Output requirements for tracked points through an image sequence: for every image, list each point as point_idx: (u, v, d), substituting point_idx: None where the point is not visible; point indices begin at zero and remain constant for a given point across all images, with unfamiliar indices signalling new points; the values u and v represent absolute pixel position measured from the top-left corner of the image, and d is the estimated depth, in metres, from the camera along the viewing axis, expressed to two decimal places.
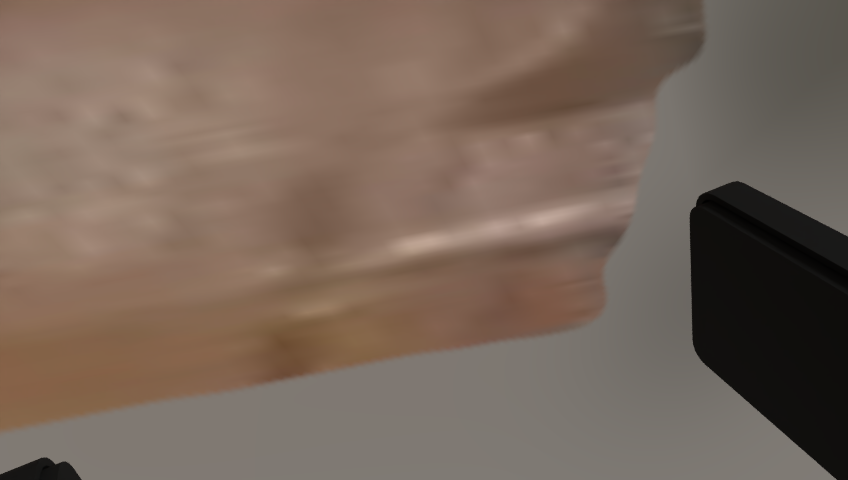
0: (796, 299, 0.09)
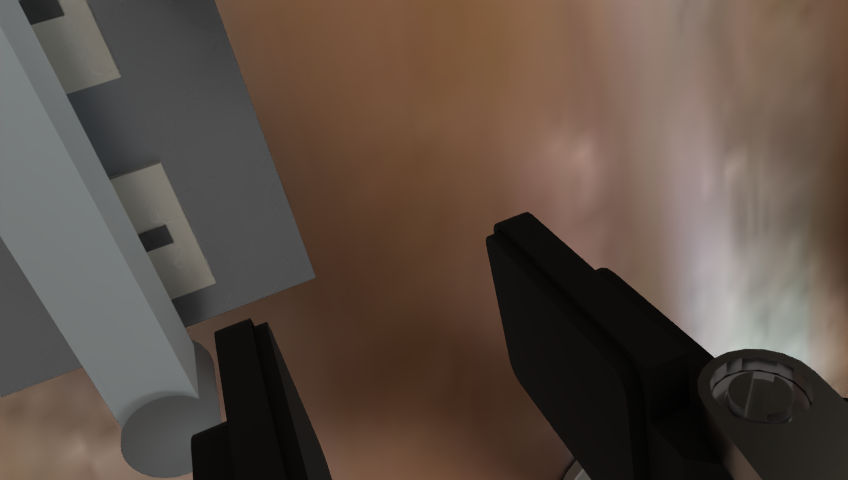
0: (551, 327, 0.09)
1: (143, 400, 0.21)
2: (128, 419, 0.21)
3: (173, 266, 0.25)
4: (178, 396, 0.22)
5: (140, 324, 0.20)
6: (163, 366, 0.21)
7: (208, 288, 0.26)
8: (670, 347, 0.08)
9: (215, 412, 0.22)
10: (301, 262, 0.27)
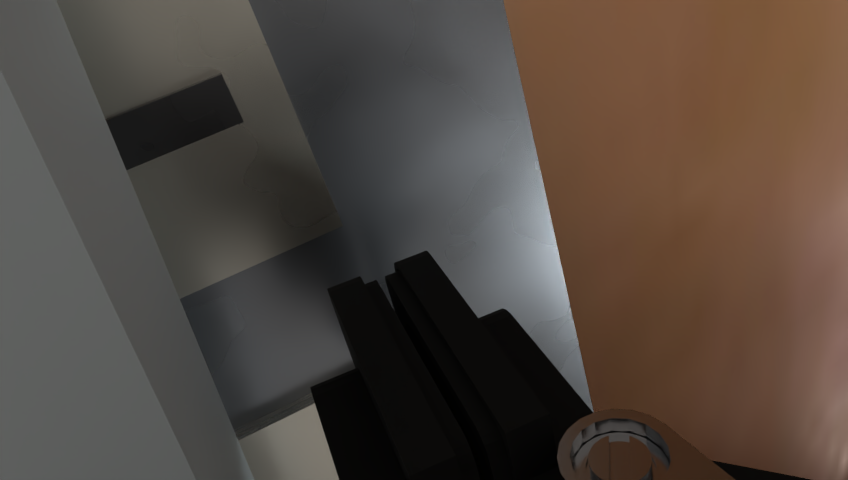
0: (436, 376, 0.09)
1: None
2: None
3: None
4: None
5: None
6: None
7: None
8: (534, 407, 0.07)
9: None
10: None
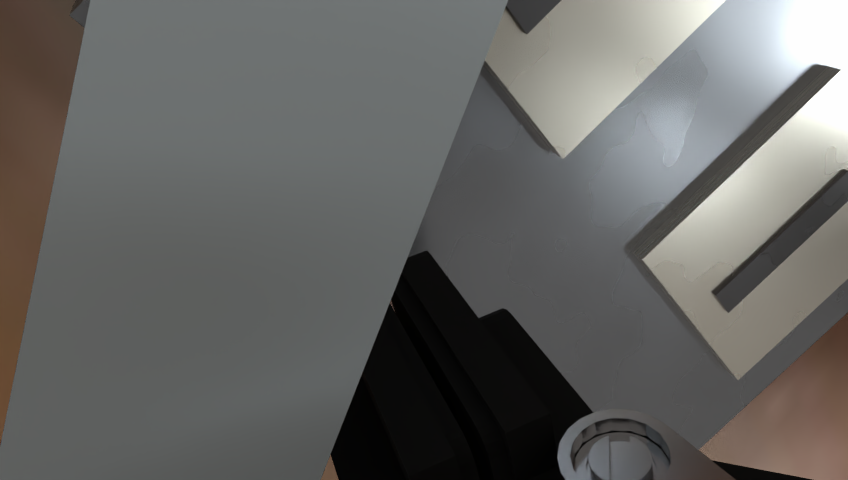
0: (436, 376, 0.09)
1: None
2: None
3: None
4: None
5: None
6: None
7: None
8: (534, 407, 0.07)
9: None
10: None
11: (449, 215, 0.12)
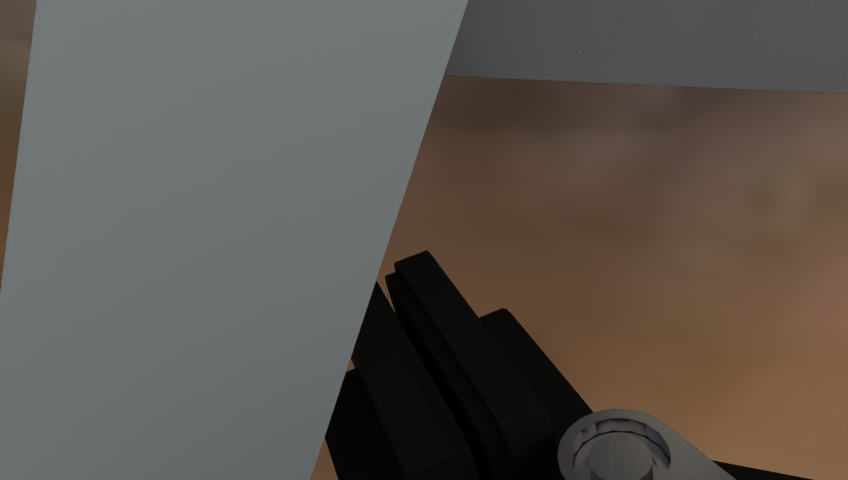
0: (436, 376, 0.09)
1: None
2: None
3: None
4: None
5: None
6: None
7: None
8: (534, 407, 0.07)
9: None
10: None
11: None
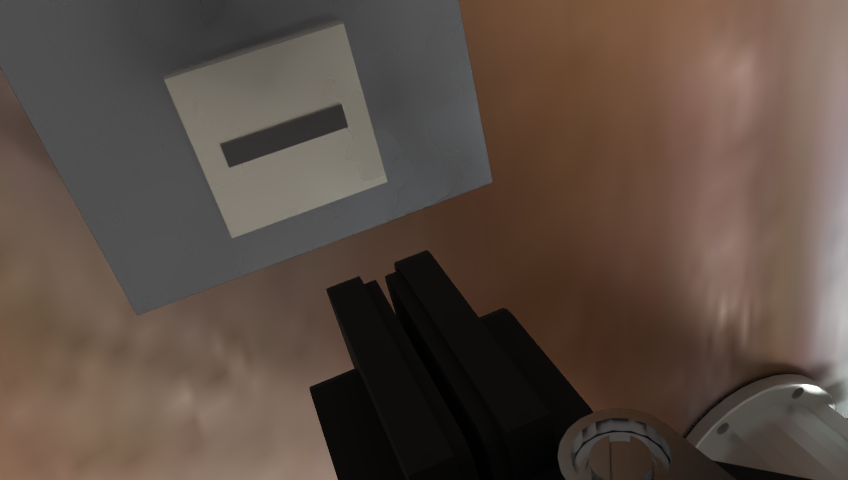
0: (436, 376, 0.09)
1: None
2: None
3: (343, 158, 0.21)
4: None
5: None
6: None
7: (375, 189, 0.22)
8: (534, 408, 0.07)
9: None
10: (479, 162, 0.23)
11: None
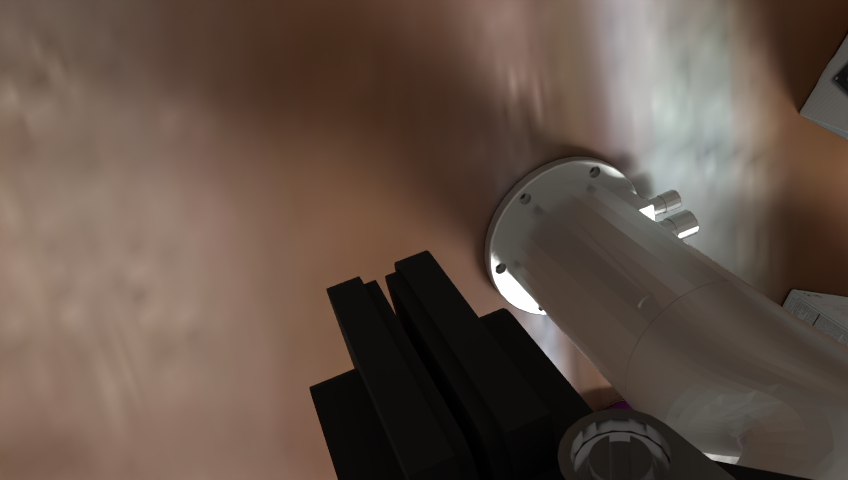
0: (436, 376, 0.09)
1: None
2: None
3: None
4: None
5: None
6: None
7: None
8: (535, 407, 0.07)
9: None
10: None
11: None
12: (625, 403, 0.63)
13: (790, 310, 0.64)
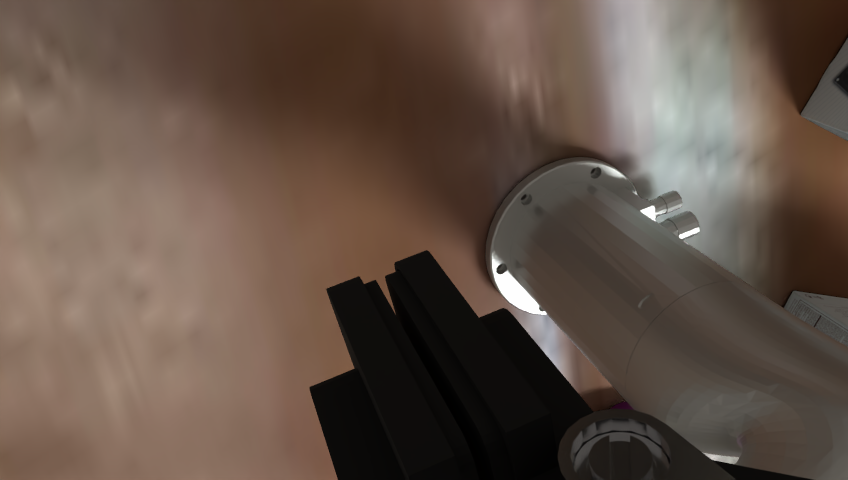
0: (436, 376, 0.09)
1: None
2: None
3: None
4: None
5: None
6: None
7: None
8: (534, 408, 0.07)
9: None
10: None
11: None
12: (626, 404, 0.63)
13: (791, 311, 0.64)
